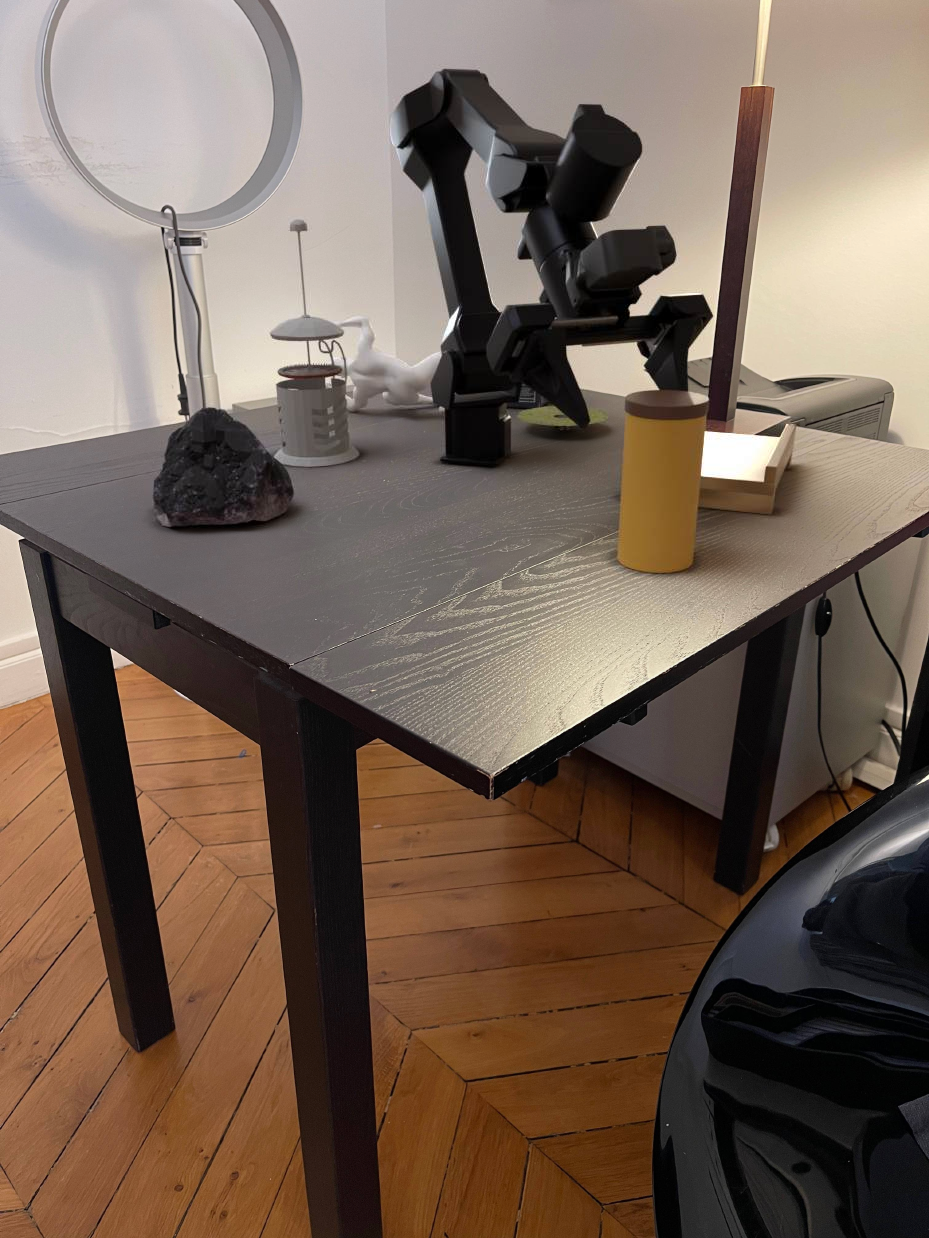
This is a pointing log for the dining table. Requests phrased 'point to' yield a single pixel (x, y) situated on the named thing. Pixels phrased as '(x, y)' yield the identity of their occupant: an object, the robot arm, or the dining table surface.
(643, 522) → the tea tin
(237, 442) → the crystal cluster
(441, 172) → the robot arm
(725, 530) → the dining table surface
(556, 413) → the green disc
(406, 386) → the white curved figure
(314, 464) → the french press
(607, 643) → the dining table surface
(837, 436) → the dining table surface
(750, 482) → the oak shelf
